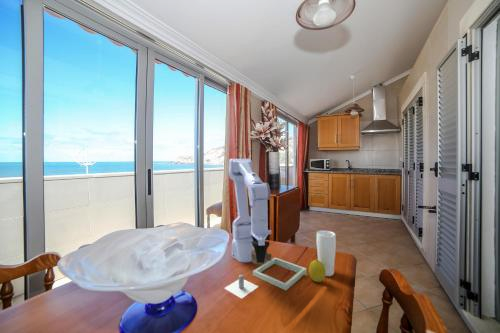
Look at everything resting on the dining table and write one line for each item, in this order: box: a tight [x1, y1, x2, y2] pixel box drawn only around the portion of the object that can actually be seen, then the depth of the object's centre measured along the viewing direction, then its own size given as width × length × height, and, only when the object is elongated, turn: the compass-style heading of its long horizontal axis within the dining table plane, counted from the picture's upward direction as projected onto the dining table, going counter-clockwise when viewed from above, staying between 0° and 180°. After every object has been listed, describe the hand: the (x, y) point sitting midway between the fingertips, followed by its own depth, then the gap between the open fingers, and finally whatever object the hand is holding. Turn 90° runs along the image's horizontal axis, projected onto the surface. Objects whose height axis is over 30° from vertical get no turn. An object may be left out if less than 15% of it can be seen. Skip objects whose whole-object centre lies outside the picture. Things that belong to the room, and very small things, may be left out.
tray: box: [252, 257, 307, 291], centre depth 76 cm, size 14×14×2 cm
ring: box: [251, 249, 273, 265], centre depth 72 cm, size 7×5×3 cm
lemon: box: [308, 259, 326, 283], centre depth 72 cm, size 6×6×8 cm
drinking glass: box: [315, 230, 337, 277], centre depth 78 cm, size 7×7×15 cm
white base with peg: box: [223, 274, 259, 299], centre depth 68 cm, size 8×8×5 cm
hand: (259, 258), depth 72 cm, fingers closed on ring, 5 cm apart
